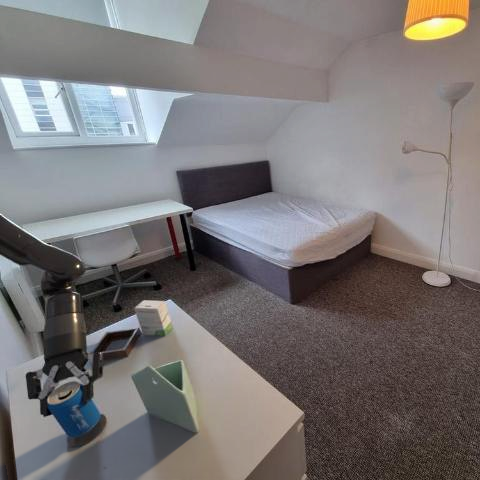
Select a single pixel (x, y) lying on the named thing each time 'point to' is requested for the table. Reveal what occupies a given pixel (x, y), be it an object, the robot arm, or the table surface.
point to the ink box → (153, 317)
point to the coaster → (88, 433)
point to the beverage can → (72, 409)
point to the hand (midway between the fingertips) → (68, 408)
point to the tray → (117, 335)
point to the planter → (168, 394)
